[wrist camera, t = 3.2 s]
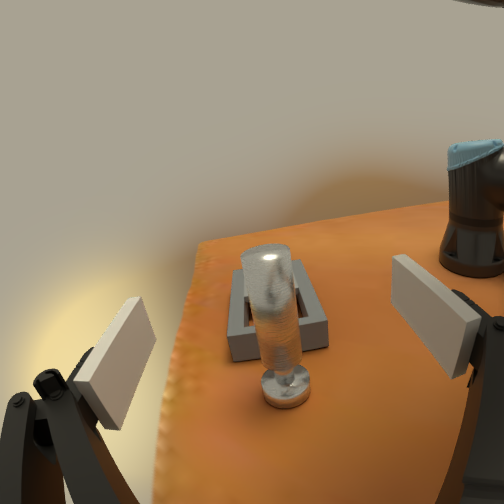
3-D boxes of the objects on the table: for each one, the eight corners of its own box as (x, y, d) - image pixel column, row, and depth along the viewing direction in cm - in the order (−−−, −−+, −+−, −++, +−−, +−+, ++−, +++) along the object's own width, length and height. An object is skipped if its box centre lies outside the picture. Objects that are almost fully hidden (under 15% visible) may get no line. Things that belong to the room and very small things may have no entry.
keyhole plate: (328, 346, 36) (327, 319, 34) (233, 361, 36) (226, 336, 35) (302, 279, 55) (300, 259, 53) (237, 290, 55) (233, 270, 54)
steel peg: (318, 383, 30) (307, 244, 25) (293, 414, 26) (272, 268, 21) (281, 370, 33) (259, 240, 28) (254, 397, 30) (221, 260, 24)
